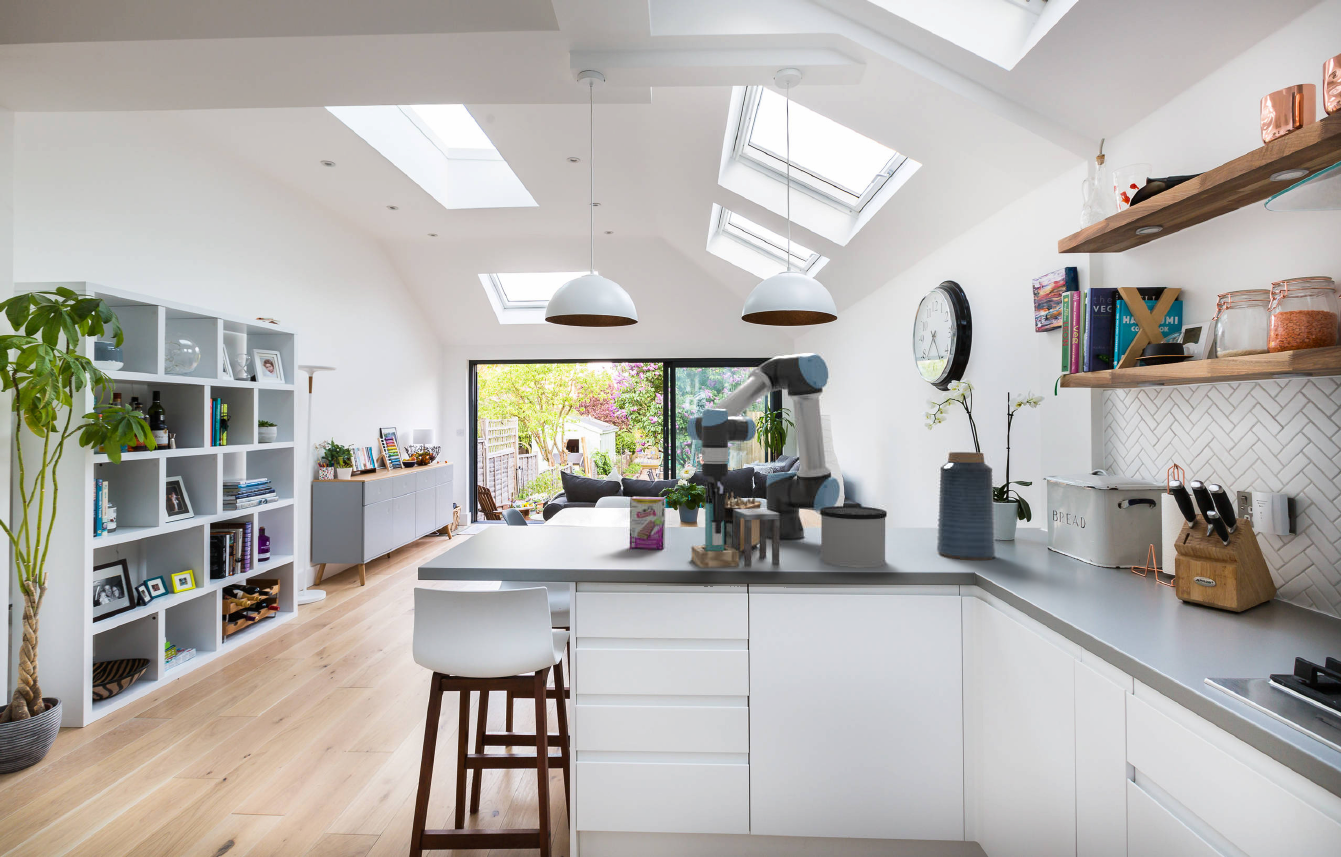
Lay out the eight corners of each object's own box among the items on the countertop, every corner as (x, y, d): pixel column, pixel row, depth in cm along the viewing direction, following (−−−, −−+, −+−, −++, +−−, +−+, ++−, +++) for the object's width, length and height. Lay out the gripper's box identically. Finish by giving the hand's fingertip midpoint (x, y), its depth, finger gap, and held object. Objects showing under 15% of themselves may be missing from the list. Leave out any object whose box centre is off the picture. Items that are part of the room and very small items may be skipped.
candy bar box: (629, 549, 205) (629, 498, 205) (631, 546, 210) (631, 496, 210) (663, 549, 204) (664, 498, 204) (665, 547, 209) (665, 496, 209)
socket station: (764, 556, 194) (764, 508, 194) (779, 564, 182) (779, 513, 182) (691, 559, 189) (691, 510, 189) (701, 567, 177) (701, 515, 177)
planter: (782, 557, 193) (782, 495, 194) (701, 558, 191) (701, 495, 192) (764, 544, 218) (764, 489, 219) (691, 545, 216) (691, 489, 217)
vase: (994, 552, 200) (994, 452, 200) (996, 562, 186) (996, 454, 186) (938, 548, 207) (938, 451, 207) (935, 557, 193) (936, 453, 192)
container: (815, 564, 183) (815, 512, 183) (824, 552, 201) (825, 504, 201) (884, 569, 176) (884, 515, 176) (888, 557, 194) (888, 507, 194)
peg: (719, 550, 187) (719, 502, 187) (724, 553, 183) (724, 504, 183) (705, 551, 186) (705, 503, 186) (709, 554, 182) (709, 505, 182)
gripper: (694, 461, 192) (694, 538, 192) (710, 464, 175) (710, 549, 175) (718, 460, 194) (718, 537, 194) (736, 464, 177) (736, 548, 177)
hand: (714, 542), depth 185 cm, fingers closed on peg, 4 cm apart
